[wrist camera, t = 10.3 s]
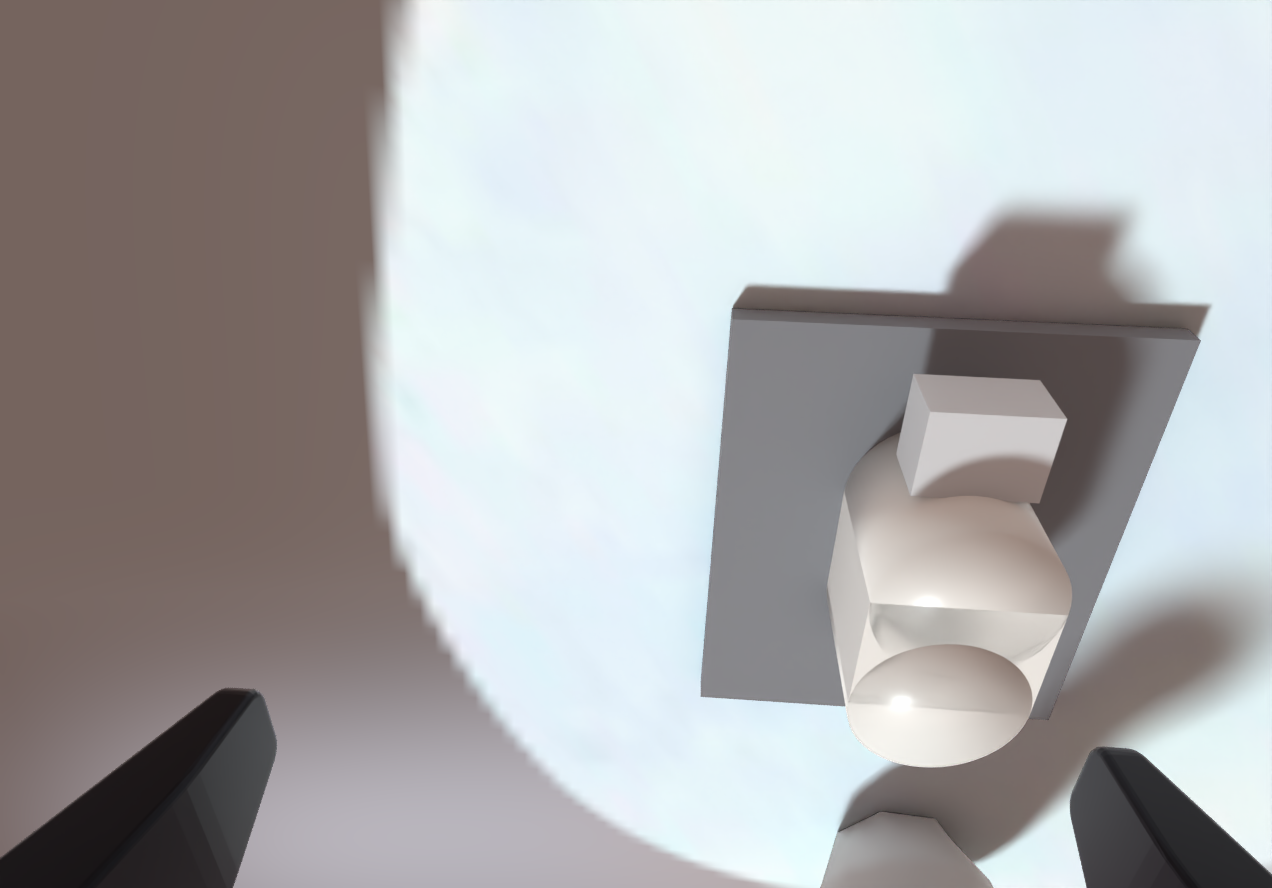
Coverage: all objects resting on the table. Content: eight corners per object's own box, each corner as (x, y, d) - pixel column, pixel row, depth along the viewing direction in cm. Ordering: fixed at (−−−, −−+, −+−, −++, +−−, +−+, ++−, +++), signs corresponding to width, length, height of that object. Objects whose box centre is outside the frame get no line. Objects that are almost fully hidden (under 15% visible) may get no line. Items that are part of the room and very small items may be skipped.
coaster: (1187, 328, 19) (1200, 340, 19) (1041, 703, 25) (1048, 719, 25) (732, 308, 20) (732, 318, 19) (700, 681, 26) (700, 696, 25)
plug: (964, 648, 24) (1007, 773, 20) (817, 639, 24) (835, 761, 20) (1055, 356, 19) (1130, 455, 16) (870, 347, 19) (905, 442, 16)
